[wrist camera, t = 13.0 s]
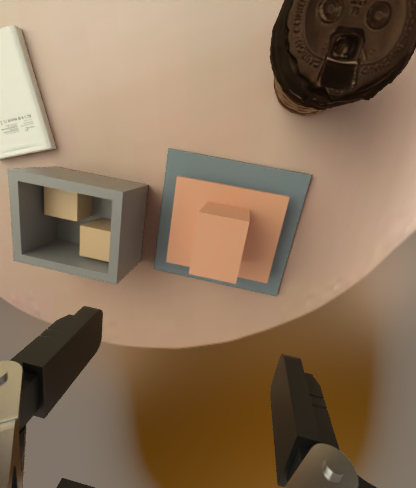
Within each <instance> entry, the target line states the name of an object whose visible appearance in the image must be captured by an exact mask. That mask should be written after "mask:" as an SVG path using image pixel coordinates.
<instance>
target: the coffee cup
mask: <svg viewBox="0 0 416 488" xmlns="http://www.w3.org/2000/svg"><path fill="white" fill-rule="evenodd" d="M415 48H416V0H284V3H283V5H282V8H281V10H280V13H279V16H278V18H277V20H276V22H275V25H274V27H273V30H272V38H271V46H270V60H271V65H272V70H273V73H274V89H275V93H276V96H277V98H278V101H279V103H280V104H281V105H282V106H283V107H284V108H285V109H287V110H288V111H290V112H292V113H295V114H299V115H303V116H305V115H310V114H311V115H312V114H317V113H319V112H320V111H324V110H326V109H327V108H332V107H336V106H340V105H344V104H348V103H353V102H356V101H359V100H361V99H364V100H369V99H370V98H373V97H374V96H375V95H376V94H377V93H378V92H379V91H381V90H382V89H383V88H384V87H385V86H387V85H388V84H390V83H392V82H393V80H394V79H395V78H396V77H397V76H398V75H399V74H400V73H401V72H402V70H403V69H404V68H405V67H406V65H407V64H408V62H409V60H410V58H411V56H412V55H413V53H414V50H415Z"/></svg>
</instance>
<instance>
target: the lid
mask: <svg viewBox="0 0 416 488" xmlns="http://www.w3.org/2000/svg"><path fill="white" fill-rule="evenodd" d="M289 198H290V197H289V196H287V195H282V194H276V193H271V192H266V191H260V190H255V189H249V188H244V187H238V186H233V185H228V184H222V183H217V182H211V181H206V180H201V179H195V178H190V177H184V176H177V179H176V187H175V195H174V203H173V211H172V219H171V227H170V235H169V243H168V251H167V259H166V262H169V263H173V264H178V265H183V266H188V267H190V269H189V274H192V275H196V276H201V277H206V278H210V279H215V280H219V281H224V282H229V283H233V284H236V281H237V277H239V278H244V279H249V280H253V281H258V282H263V283H267V282H268V278H269V274H270V270H271V267H272V263H273V259H274V255H275V251H276V248H277V244H278V240H279V236H280V232H281V229H282V225H283V221H284V217H285V213H286V210H287V206H288V202H289Z"/></svg>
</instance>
